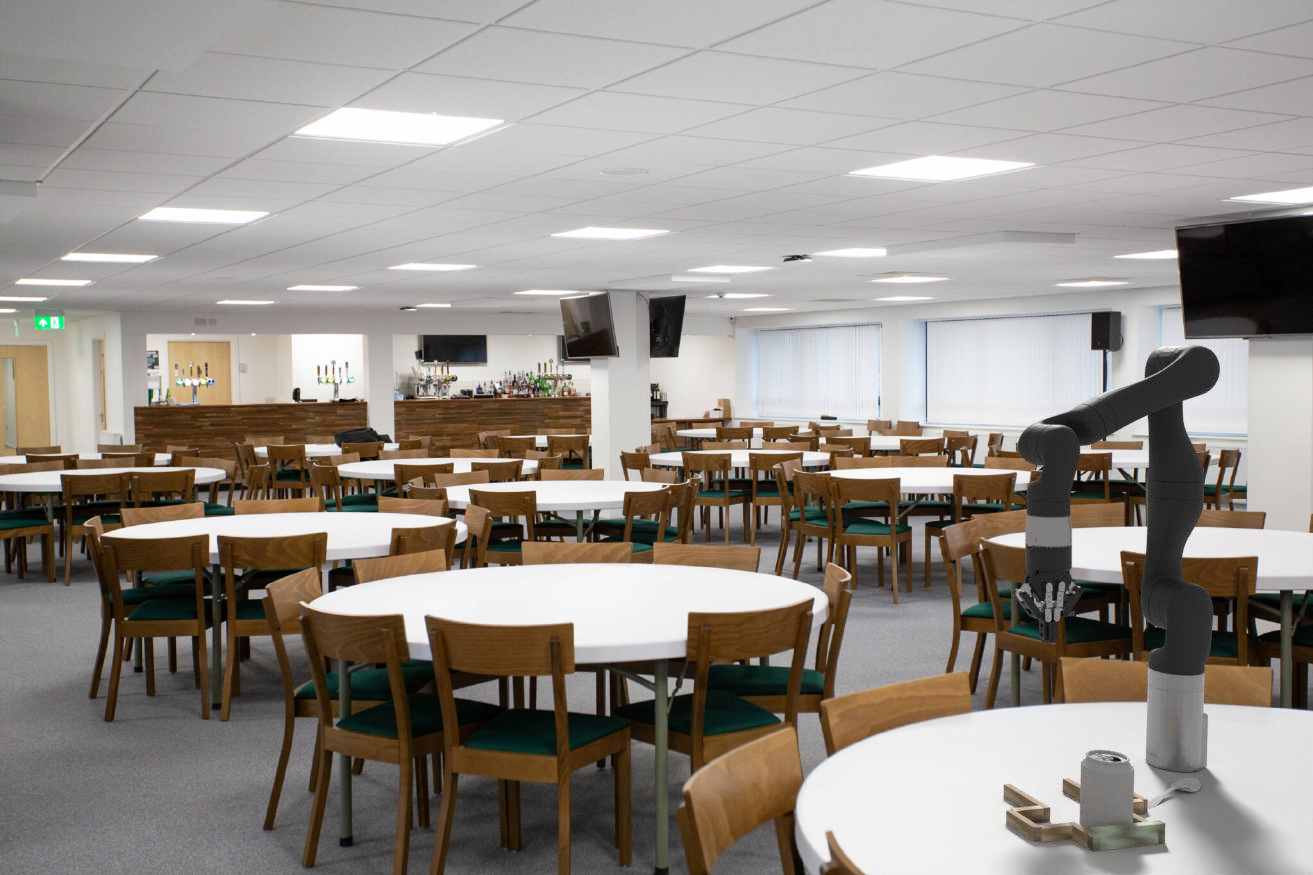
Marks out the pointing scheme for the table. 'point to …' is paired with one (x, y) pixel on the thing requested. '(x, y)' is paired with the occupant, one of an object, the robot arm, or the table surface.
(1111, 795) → the can
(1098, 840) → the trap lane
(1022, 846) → the table surface
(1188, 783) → the spoon
